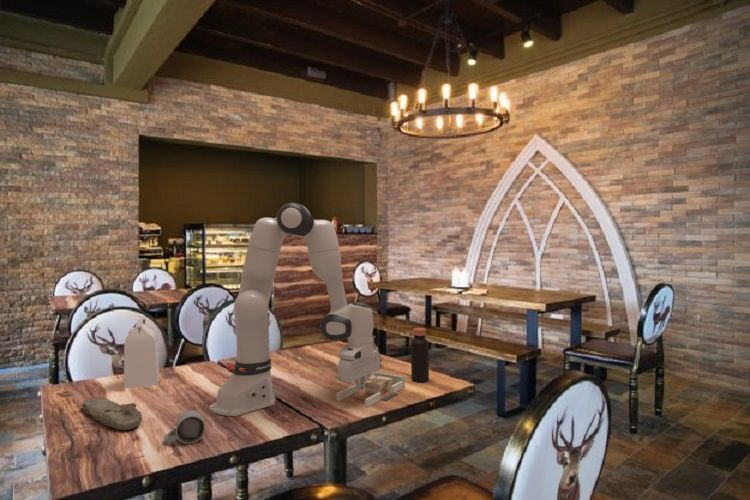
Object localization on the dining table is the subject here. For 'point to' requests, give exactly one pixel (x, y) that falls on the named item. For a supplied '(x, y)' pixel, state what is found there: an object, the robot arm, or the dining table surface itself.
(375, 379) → the maple block
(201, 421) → the ceramic mug
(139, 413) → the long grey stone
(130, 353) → the milk
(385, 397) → the pads
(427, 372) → the bottle
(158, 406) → the dining table surface
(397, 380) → the box
